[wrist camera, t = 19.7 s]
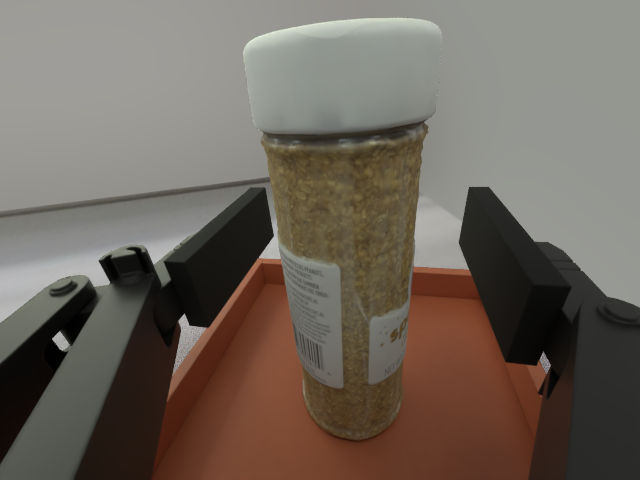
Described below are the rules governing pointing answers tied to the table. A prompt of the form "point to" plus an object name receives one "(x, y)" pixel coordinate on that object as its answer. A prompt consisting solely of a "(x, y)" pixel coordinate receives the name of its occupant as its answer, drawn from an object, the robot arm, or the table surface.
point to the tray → (317, 444)
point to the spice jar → (347, 200)
